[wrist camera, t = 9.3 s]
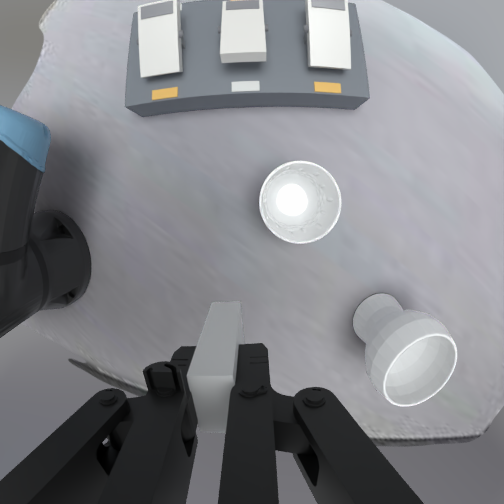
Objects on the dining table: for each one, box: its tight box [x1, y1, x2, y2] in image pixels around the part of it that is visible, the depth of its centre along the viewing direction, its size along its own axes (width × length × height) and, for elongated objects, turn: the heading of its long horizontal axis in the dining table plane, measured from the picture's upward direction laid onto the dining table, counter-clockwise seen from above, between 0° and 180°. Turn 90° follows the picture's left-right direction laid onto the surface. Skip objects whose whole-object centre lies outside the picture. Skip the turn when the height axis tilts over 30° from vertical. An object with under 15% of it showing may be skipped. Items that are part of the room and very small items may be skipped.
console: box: [125, 0, 370, 117], centre depth 30 cm, size 28×14×8 cm, turn 92°
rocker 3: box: [304, 0, 352, 70], centre depth 25 cm, size 5×9×2 cm, turn 2°
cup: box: [353, 293, 457, 406], centre depth 34 cm, size 11×11×15 cm
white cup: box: [259, 161, 341, 244], centre depth 33 cm, size 8×8×10 cm
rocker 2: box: [218, 0, 268, 63], centre depth 25 cm, size 5×9×2 cm, turn 2°
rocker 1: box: [136, 0, 184, 78], centre depth 25 cm, size 5×9×2 cm, turn 2°
